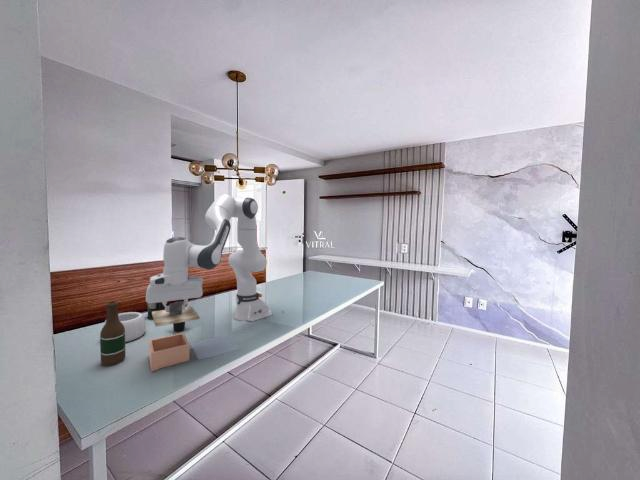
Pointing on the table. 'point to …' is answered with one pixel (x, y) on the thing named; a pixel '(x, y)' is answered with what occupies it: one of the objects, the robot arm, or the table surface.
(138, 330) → the mug
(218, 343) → the slate mat
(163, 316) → the birch lid
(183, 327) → the drinking cup
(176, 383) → the table surface
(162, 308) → the milk frother
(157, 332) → the table surface
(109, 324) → the beer bottle
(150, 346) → the open square planter box
